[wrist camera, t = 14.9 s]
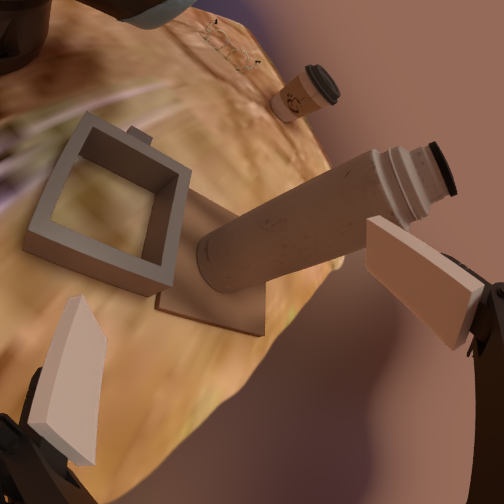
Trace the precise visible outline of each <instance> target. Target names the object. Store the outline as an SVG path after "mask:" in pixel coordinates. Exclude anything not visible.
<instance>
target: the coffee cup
mask: <svg viewBox="0 0 504 504" xmlns="http://www.w3.org/2000/svg"><path fill="white" fill-rule="evenodd" d="M339 97H340V91H339V89H338V87H337V85H336V84H335V82H334V81H333V79H332V78H331V76H330V75H329V74H328V73H327V71H326V70H325V69H324V68H323V67H321V66H320V65H318V64H317V65H315V66H313V65H308V66H305V70H304V71H303V72H302V73H300V74H299V75H298V76H297V77H296V78H294V79H293V80H292V81H291V82H290V83H289V84H287V85H286V86H285V87H284V88H283V89H282V90H281V91H279V92H278V93H277V94H276V95H275V96H274V97H273V98H272V100H270V105H271V108H272V110H273V112H274V113H275V114H276V116H277V117H278V118H279V119H280V120H281V121H283V122H285V123H287V122H291V121H294V120H296V119H298V118H300V117H302V116H305V115H307V114H309V113H312V112H314V111H316V110H319V109H321V108H323V107H326V106H328V105H334V104H336V103H337V99H338V98H339Z"/></svg>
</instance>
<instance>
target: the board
mask: <svg viewBox="0 0 504 504" xmlns="http://www.w3.org/2000/svg"><path fill="white" fill-rule="evenodd" d="M238 217H239V216H237V215H235V214H234V213H232V212H230V211H229V210H227V209H225V208H223V207H221V206H220V205H218V204H216V203H214V202H213V201H211V200H209V199H207V198H206V197H204V196H202V195H200V194H199V193H197V192H195V191H193V190H191V189H190V188H188V193H187V199H186V204H185V210H184V215H183V221H182V227H181V233H180V239H179V246H178V252H177V259H176V265H175V272H174V280H173V287H171V288H169V289H166V290H164V291H161V292H159V293H157V295H156V302H155V309H157V310H160V311H163V312H167V313H170V314H174V315H177V316H181V317H184V318H188V319H191V320H195V321H198V322H202V323H206V324H210V325H213V326H217V327H221V328H225V329H229V330H233V331H237V332H241V333H245V334H249V335H254V336H258V337H261V336H265V293H266V282H264V283H260V284H257V285H254V286H251V287H248V288H245V289H242V290H239V291H236V292H232V293H222V292H220V291H217V290H216V289H214V288H213V287H211V286H210V285H209V284H208V283H207V281H206V280H205V279H204V277H203V275H202V273H201V271H200V268H199V265H198V261H197V250H198V246H199V243H200V241H201V239H202V238H203V237H204V236H205V235H206V234H208V233H210V232H212V231H214V230H215V229H217V228H219V227H221V226H223V225H225V224H227V223H228V222H230V221H232V220H234V219H236V218H238Z"/></svg>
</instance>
